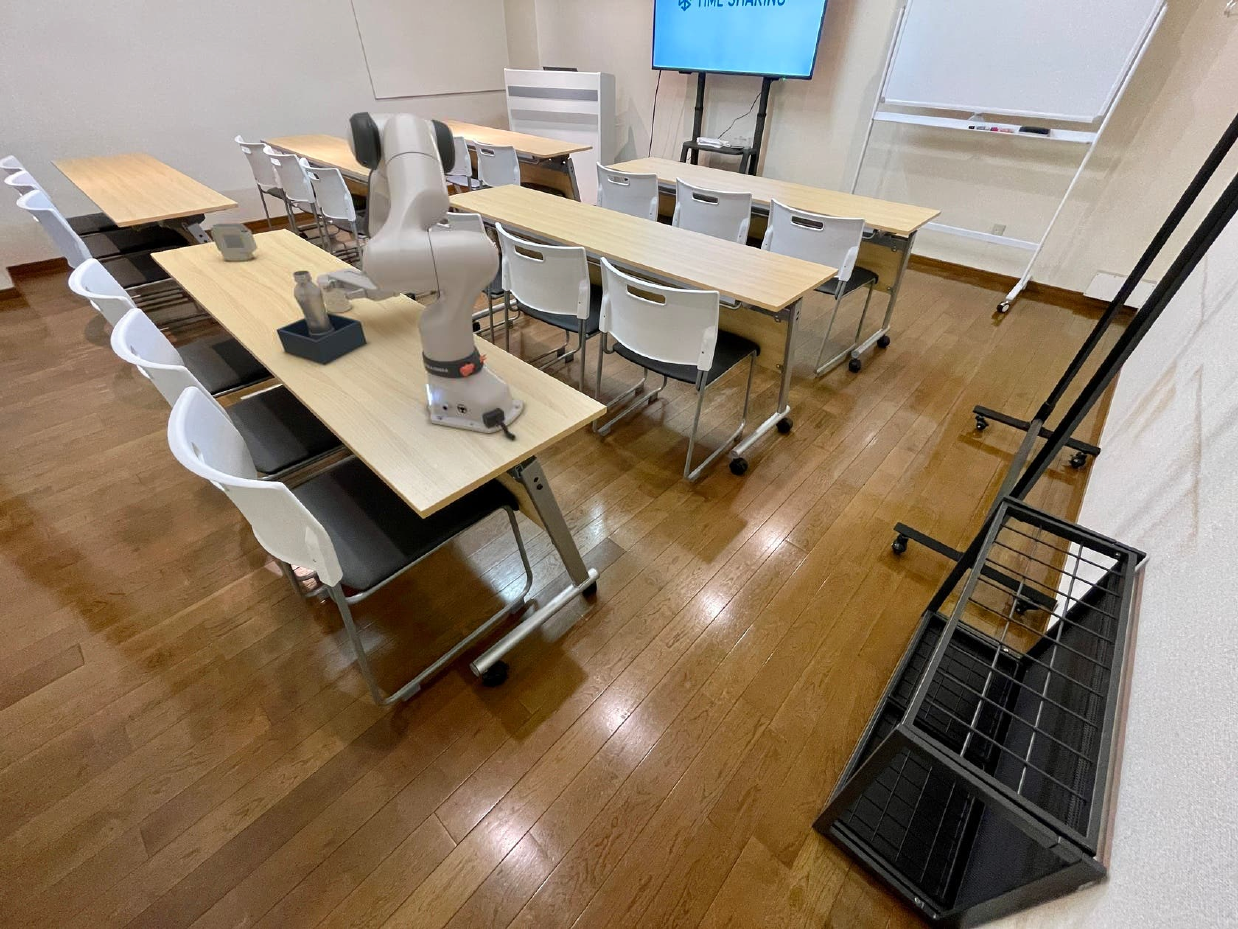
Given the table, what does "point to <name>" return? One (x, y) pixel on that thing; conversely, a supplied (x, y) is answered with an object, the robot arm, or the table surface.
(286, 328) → the tub
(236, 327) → the table surface
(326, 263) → the table surface
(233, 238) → the cable organizer
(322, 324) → the metal water bottle
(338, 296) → the white cup
